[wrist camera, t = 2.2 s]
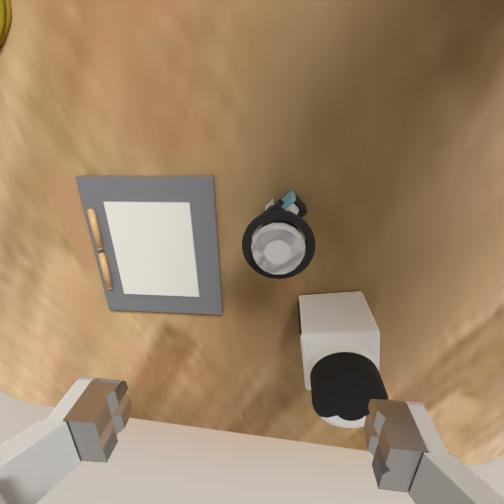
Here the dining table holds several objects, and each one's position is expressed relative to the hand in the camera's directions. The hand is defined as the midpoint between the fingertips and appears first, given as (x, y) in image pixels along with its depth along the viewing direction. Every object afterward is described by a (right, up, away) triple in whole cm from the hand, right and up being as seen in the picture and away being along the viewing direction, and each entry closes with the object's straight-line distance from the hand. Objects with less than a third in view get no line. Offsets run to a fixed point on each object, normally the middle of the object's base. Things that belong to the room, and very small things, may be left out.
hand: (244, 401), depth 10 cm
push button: (+3, +9, +20) cm, 22 cm away
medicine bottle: (+9, -3, +25) cm, 27 cm away
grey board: (-10, +5, +23) cm, 26 cm away
